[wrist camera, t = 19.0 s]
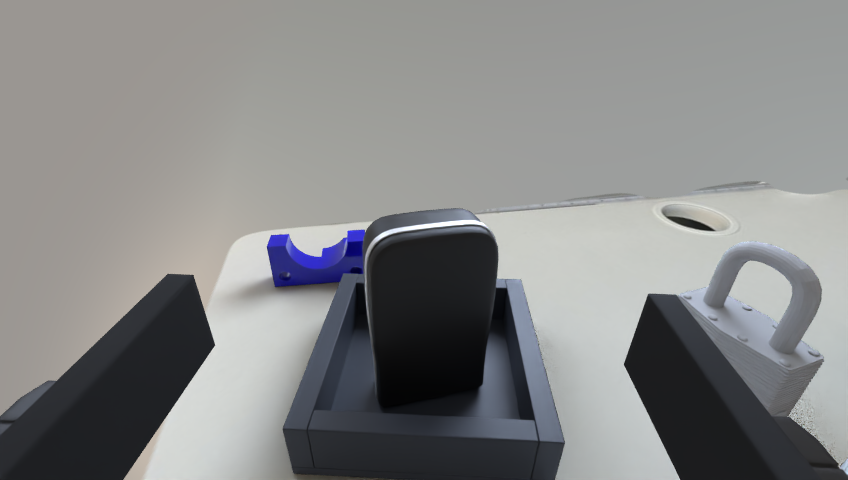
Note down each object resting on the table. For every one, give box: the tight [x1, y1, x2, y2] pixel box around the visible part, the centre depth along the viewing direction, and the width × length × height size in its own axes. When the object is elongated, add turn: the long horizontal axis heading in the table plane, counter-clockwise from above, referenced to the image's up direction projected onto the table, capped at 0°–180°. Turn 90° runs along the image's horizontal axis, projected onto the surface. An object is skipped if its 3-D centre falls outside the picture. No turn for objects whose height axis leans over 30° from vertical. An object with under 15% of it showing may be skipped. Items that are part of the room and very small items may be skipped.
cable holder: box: [267, 230, 365, 287], centre depth 37 cm, size 8×4×4 cm, turn 98°
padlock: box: [678, 241, 824, 417], centre depth 25 cm, size 7×4×10 cm, turn 19°
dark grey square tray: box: [283, 273, 565, 480], centre depth 26 cm, size 13×13×4 cm
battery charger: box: [363, 208, 498, 407], centre depth 24 cm, size 7×4×11 cm, turn 105°
